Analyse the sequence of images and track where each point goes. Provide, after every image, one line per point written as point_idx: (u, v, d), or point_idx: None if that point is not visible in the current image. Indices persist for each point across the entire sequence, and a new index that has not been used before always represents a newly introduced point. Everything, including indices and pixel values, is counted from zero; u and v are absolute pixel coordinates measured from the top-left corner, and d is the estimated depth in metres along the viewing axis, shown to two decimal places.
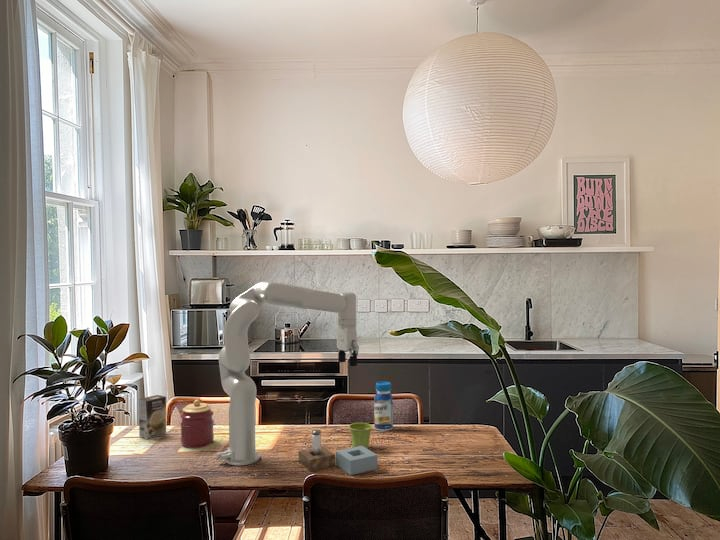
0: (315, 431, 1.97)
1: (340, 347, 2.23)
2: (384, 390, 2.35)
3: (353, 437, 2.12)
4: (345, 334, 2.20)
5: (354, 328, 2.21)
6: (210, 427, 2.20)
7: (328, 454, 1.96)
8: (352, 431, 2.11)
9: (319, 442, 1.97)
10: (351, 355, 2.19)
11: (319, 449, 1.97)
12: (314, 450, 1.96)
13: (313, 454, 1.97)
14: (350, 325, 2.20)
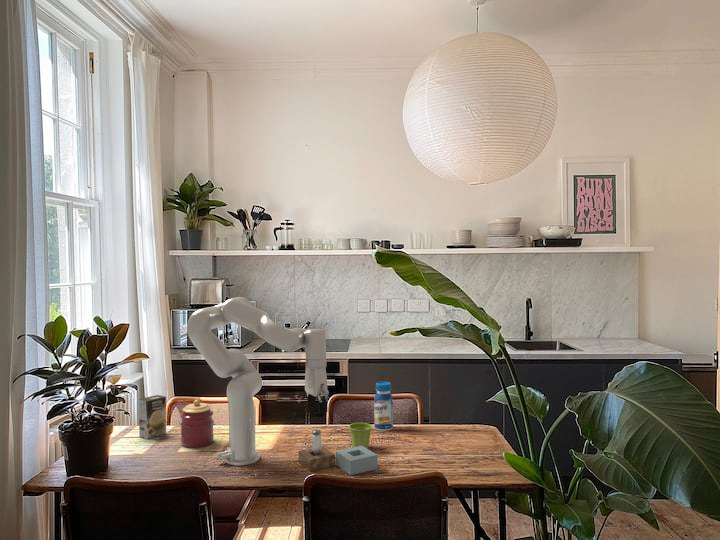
0: (315, 431, 1.97)
1: (308, 391, 1.97)
2: (384, 390, 2.35)
3: (353, 437, 2.12)
4: (313, 376, 1.93)
5: (323, 370, 1.94)
6: (210, 427, 2.20)
7: (328, 454, 1.96)
8: (352, 431, 2.11)
9: (319, 442, 1.97)
10: (320, 401, 1.92)
11: (319, 449, 1.97)
12: (314, 450, 1.96)
13: (313, 454, 1.97)
14: (319, 366, 1.94)
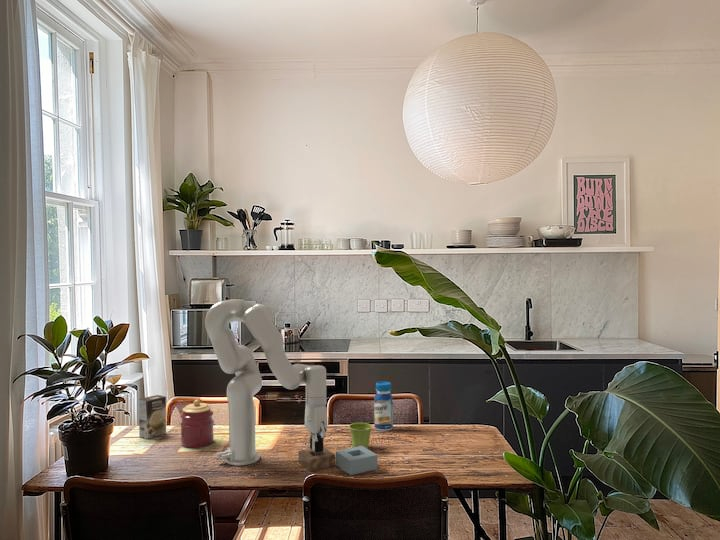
0: None
1: (308, 428, 1.97)
2: (384, 390, 2.35)
3: (353, 437, 2.12)
4: (313, 414, 1.93)
5: (323, 407, 1.94)
6: (210, 427, 2.20)
7: (328, 454, 1.96)
8: (352, 431, 2.11)
9: None
10: (316, 440, 1.95)
11: None
12: (314, 450, 1.96)
13: (313, 454, 1.97)
14: (319, 404, 1.94)
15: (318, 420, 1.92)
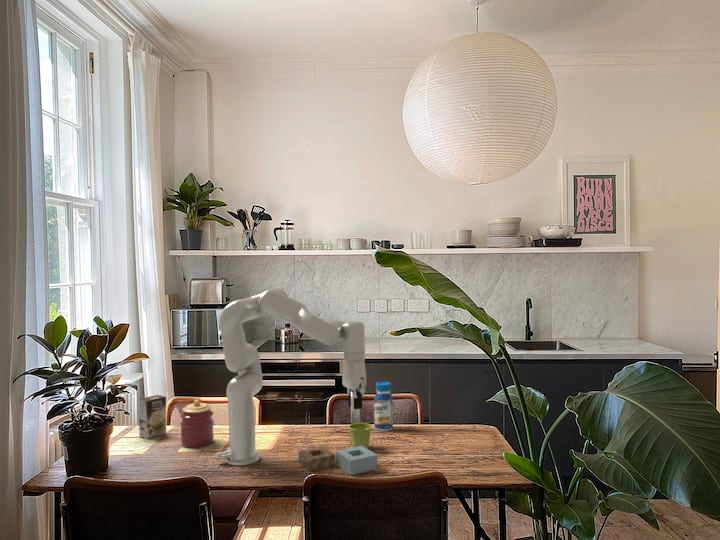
0: None
1: (346, 385, 1.93)
2: (384, 390, 2.35)
3: (353, 437, 2.12)
4: (352, 370, 1.90)
5: (362, 363, 1.91)
6: (210, 427, 2.20)
7: (328, 454, 1.96)
8: (352, 431, 2.11)
9: None
10: (355, 397, 1.91)
11: None
12: (353, 407, 1.93)
13: (352, 411, 1.93)
14: (358, 360, 1.90)
15: (357, 376, 1.89)
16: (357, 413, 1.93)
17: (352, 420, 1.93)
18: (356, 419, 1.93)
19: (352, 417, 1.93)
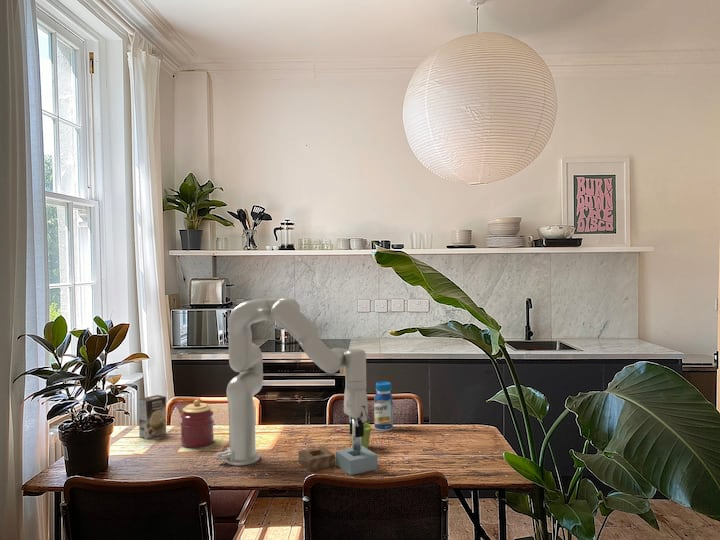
0: None
1: (348, 413, 1.94)
2: (384, 390, 2.35)
3: None
4: (354, 398, 1.90)
5: (364, 391, 1.91)
6: (210, 427, 2.20)
7: (328, 454, 1.96)
8: None
9: None
10: (357, 425, 1.91)
11: None
12: (354, 435, 1.93)
13: (353, 439, 1.93)
14: (359, 388, 1.91)
15: (359, 404, 1.89)
16: (358, 441, 1.93)
17: (354, 448, 1.93)
18: (358, 447, 1.93)
19: (354, 445, 1.93)
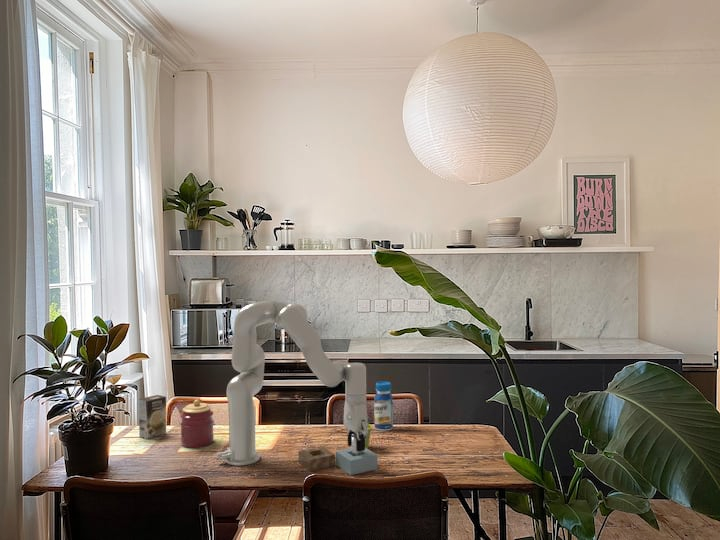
0: (355, 433, 1.94)
1: (348, 426, 1.94)
2: (384, 390, 2.35)
3: None
4: (354, 412, 1.90)
5: (364, 405, 1.91)
6: (210, 427, 2.20)
7: (328, 454, 1.96)
8: None
9: None
10: (358, 439, 1.90)
11: (359, 452, 1.94)
12: (354, 453, 1.93)
13: None
14: (359, 402, 1.91)
15: (359, 418, 1.89)
16: None
17: None
18: None
19: None
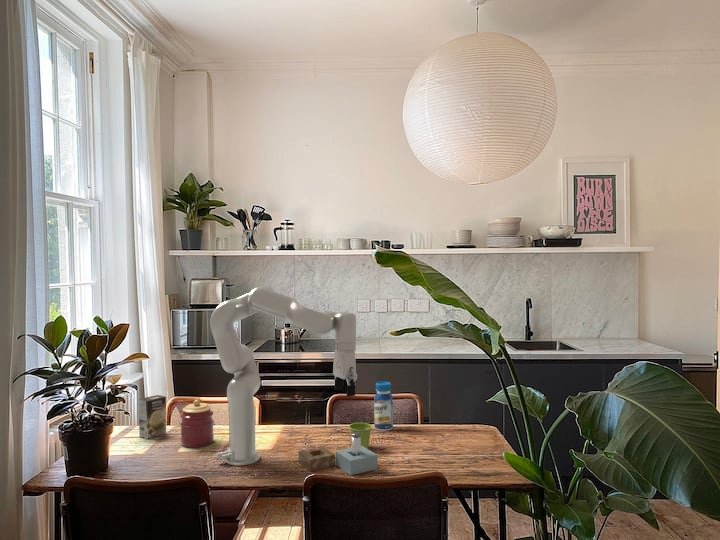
0: (355, 433, 1.94)
1: (337, 374, 1.98)
2: (384, 390, 2.35)
3: None
4: (342, 359, 1.94)
5: (353, 353, 1.95)
6: (210, 427, 2.20)
7: (328, 454, 1.96)
8: (352, 431, 2.11)
9: (359, 445, 1.94)
10: (348, 384, 1.93)
11: (359, 452, 1.94)
12: (354, 453, 1.93)
13: None
14: (348, 350, 1.95)
15: (347, 365, 1.94)
16: None
17: None
18: None
19: None
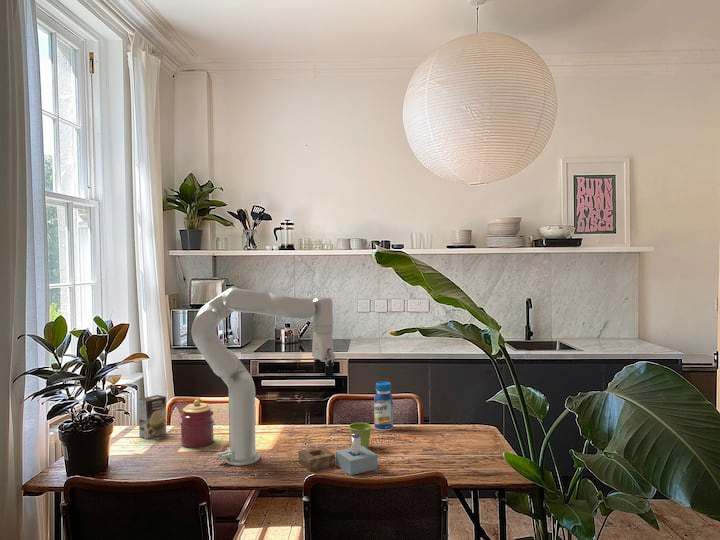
0: (355, 433, 1.94)
1: (315, 356, 2.09)
2: (384, 390, 2.35)
3: None
4: (320, 342, 2.05)
5: (330, 336, 2.06)
6: (210, 427, 2.20)
7: (328, 454, 1.96)
8: (352, 431, 2.11)
9: (359, 445, 1.94)
10: (327, 364, 2.04)
11: (359, 452, 1.94)
12: (354, 453, 1.93)
13: None
14: (326, 332, 2.06)
15: (325, 347, 2.05)
16: None
17: None
18: None
19: None
